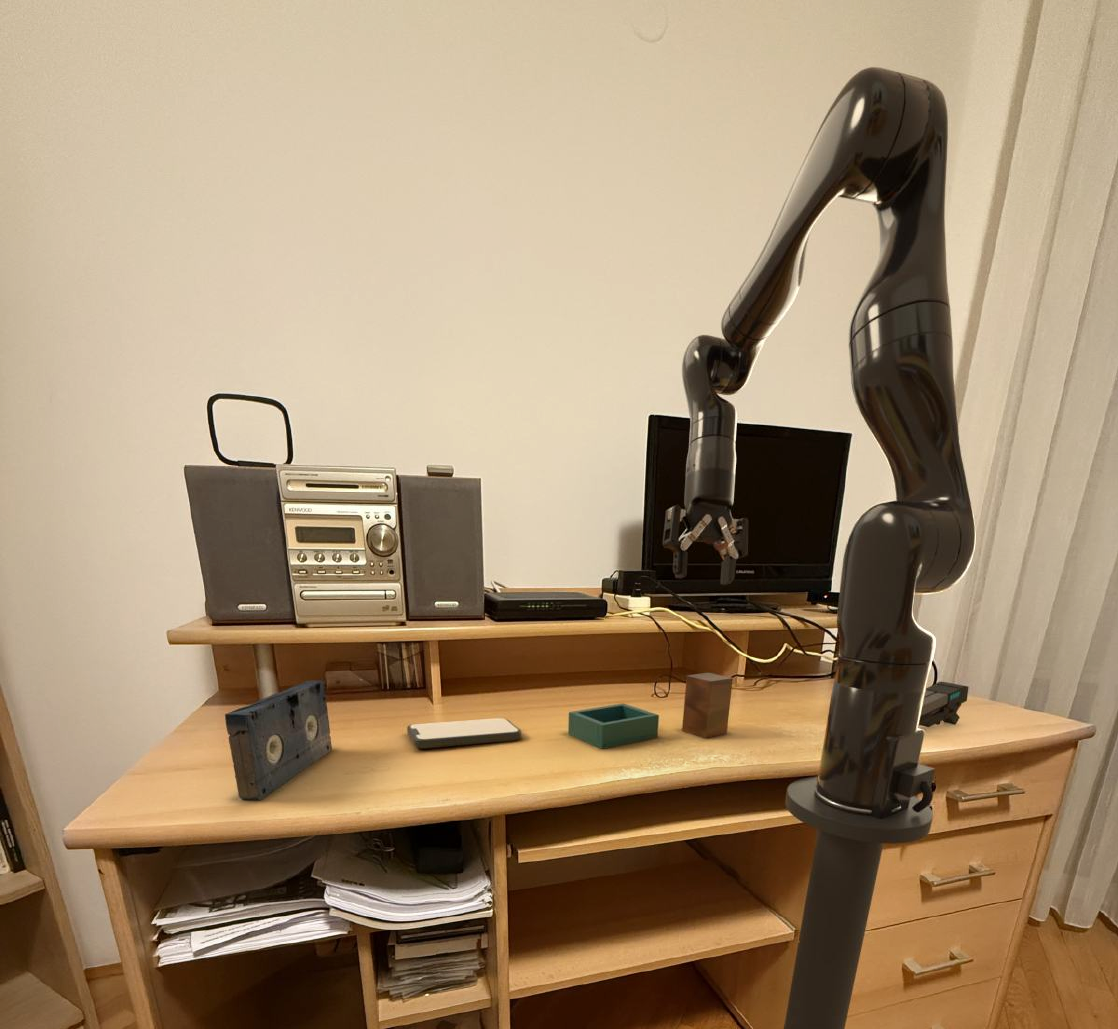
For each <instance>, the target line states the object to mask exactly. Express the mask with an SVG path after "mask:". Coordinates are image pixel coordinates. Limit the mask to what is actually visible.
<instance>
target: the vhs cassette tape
mask: <svg viewBox="0 0 1118 1029" xmlns="http://www.w3.org/2000/svg"><path fill="white" fill-rule="evenodd" d="M328 712H329V711H328V704H327V691H326V686H325V683H324V680H313V679H312V680H306V681H304V682H302V683H298V684H296V685H294V686H291V687H288V688H287V689H285V690H282V691H279V692H277V693H273V694H271V695H269V696H267V697H265V698H262V699H259V700H257V701H255V702H253V703H251V704H250V705H246V706H243V707H240V708H237V709H235V710H233V711H229V712H227V713H224V716H225V717H224V720H225V726H226V732H227V734H228V735H229V736H228V743H229V750H230V753H231V760H232V764H233V765H232V766H233V770H234V777H235V778H234V779H235V782H236V788H237V794H238V797H239V798H240V799H242V800H255V801H256V800H258V801H261V800H264V798H266V797H267V796H268V795H270V794H271V793H273V792H274V791H276V790H277V789H278V788H280V787H281V786H283V785H285V784H286V783H288V781H290V780H292V779H293V778H294V777H296V776H297V775H298V774H300V773H301V772H302V771H304V770H306V769H307V768H309V767H310V766H311V765H312V764H314V763H316V762H317V761H318V760H320V759H321V758H322V757H324V756H326V755H327V754H328V753H329V752H331V751H332V750H333V744H332V737H331V735H330V734H331V728H330V721H329V720H330V718H329V713H328Z"/></svg>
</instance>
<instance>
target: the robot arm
mask: <svg viewBox="0 0 1118 1029" xmlns="http://www.w3.org/2000/svg"><path fill="white" fill-rule="evenodd" d="M948 124H949V114H948V107H947V101H946V98H945V95H944V93H943V91H942V90H941V89H940V88H939V86H937V85H936V84H935V83H933V82H932V81H930V80H928V79H924V78H920V77H918V76H914V75H911V74H907V73H903V72H899V71H894V70H891V69H888V68H885V67H877V66H876V67H875V66H871V67H866V68H863V69H860V71H858V72H856V73H855V74H854V75H853V76H852V77H850V79H849V80H848V81H847V82H846V84H845V85H844V86H843V88H842V89H841V90H840V91H839V93H838V94H837V96H836V97H835V99H834V100H833V102H832V104H831V105H830V107H829V109H828V111H827V112H826V114H825V116H824V118H823V120H822V122H821V123H820V125H819V128H818V130H817V132H816V134H815V135H814V138H813V140H812V142H811V144H810V146H809V148H808V151H807V153H806V155H805V157H804V159H803V161H802V164H801V165H800V168H799V170H798V172H797V174H796V176H795V179H794V181H793V182H792V185H791V187H790V188H789V191H788V193H787V196H786V198H785V200H784V202H783V204H782V207H781V209H780V211H779V213H778V214H777V218H776V220H775V222H774V224H773V227H772V229H771V230H770V233H769V235H768V237H767V240H766V242H765V244H764V246H763V248H762V250H761V251H760V254H759V255H758V257H757V259H756V261H755V262H754V263H753V266H752V268H751V269H750V271H749V272H748V274H747V276H746V277H745V278H744V280H743V282H742V283H741V285H740V286H739V288H738V289H737V291H736V293H735V294H734V296H733V297H732V299H731V300H730V302H729V303H728V305H727V307H726V309H725V310H724V312H723V314H722V317H721V321H720V330H721V334H722V336H723V337H719V336H714V335H709V334H700V335H697V336H696V337H694V338H693V339H692V340H691V341H690V342H689V343H688V345H687V347H686V348H685V351H684V354H683V357H682V360H681V361H682V363H681V380H682V384H683V390H684V395H685V399H686V404H687V409H688V410H687V411H688V414H689V420H690V424H689V425H690V426H689V438H688V441H689V442H688V452H687V457H686V464H685V483H684V499H683V500H684V501H683V504H684V507H685V508H684V509H683V508H682V507H681V505H679V504H675V505H674V506H672V507H670V508H668V509H666V511H665V515H664V516H665V518H664V527H663V535H662V547H663V548H664V549H669V550H671V552H672V553H673V557H672V558H673V561H672V562H673V563H672V572H673V575H674V577H675V578H676V579H683V578H686V576H687V572H688V557H689V552H688V551H687V550H688V548H689V547H690V546H691V545H692V544H693V542H695V543H704V544H707V545H713V547H714V549H715V551H718V552H719V555H720V557H721V558H722V560H723V561H721V564H720V566H721V567H720V581H719V583H720V585H722V586H727V585H730V584H732V582H733V581H734V580H735V578H736V564H737V563H736V562H737V560H738V559H741V558H744V557H746V556H748V554H749V519H748V518H747V517H743V518H739V519H738V518H733V516H732V511H731V510H732V508H733V506H734V499H735V485H736V467H737V466H736V465H737V452H736V440H737V426H738V425H737V422H738V411H737V408H736V407H735V405H734V404H733V403H732V402H730V401H728V400H727V399H725V398H723V397H722V396H720V395H723V396H732V395H734V394H737V393H739V392H740V391H741V390H742V389H744V387H745V386H746V385H747V383H748V382H749V380H750V378H751V375H752V373H753V370H754V366H755V364H756V362H757V359H758V358H759V355H760V353H761V351H762V348H763V347H764V344H765V342H766V340H767V339H768V337H769V336H770V335H771V334H772V332H773V331H774V329H775V328H776V327H777V325H778V324H779V323H780V322H781V320H783V318H784V317H785V315H786V314H787V312H788V311H789V309H790V307H791V306H792V305H793V303H794V301H795V299H796V297H797V295H798V293H799V290H800V287H801V284H802V280H803V275H804V269H805V261H806V254H807V247H808V243H809V240H810V235H811V232H812V230H813V228H814V226H815V224H816V223H817V222H818V220H819V218H820V217H821V216H822V214H823V213H824V212H825V210H827V208H828V207H829V206H830V204H832V202H833V201H835V199H836V198H837V197H838V198H842V199H848V200H851V201H857V202H862V203H866V204H870V205H872V206H873V208H874V210H875V212H876V216H877V221H878V232H879V254H878V260H877V263H876V265H875V267H874V269H873V271H872V274H871V276H870V277H869V279H868V282H867V283H866V284H865V287H864V289H863V290H862V293H861V295H860V297H859V299H858V301H857V304H856V306H855V308H854V310H853V313H852V315H851V319H850V323H849V328H848V353H849V354H848V355H849V370H850V383H851V384H850V385H851V389H852V395H853V398H854V402H855V404H856V406H857V409H858V411H859V413H860V416H861V417H862V419H863V421H864V422H865V424H866V426H867V428H868V429H869V431H870V433H871V435H872V436H873V438H874V440H875V441H876V443H877V444H878V447H879V448H880V450H881V452H882V454H883V456H885V457H884V458H885V459H886V461H887V464H888V466H889V468H890V472H891V475H892V479H893V484H894V491H895V500H887V501H882V502H878V503H876V504H874V505H871V506H870V507H868V508H867V509H866V510H865V511H864V512H862V513H861V515H860V516H859V517H858V518H857V520H856V522H855V523H854V525H853V526H852V529H851V530H850V533H849V535H848V538H847V541H846V545H845V548H844V553H843V559H842V564H841V573H840V575H841V576H840V585H839V595H838V603H837V613H836V627H837V628H836V629H837V632H838V637H839V649H838V655H837V660H836V664H835V665H836V667H835V671H834V678H833V684H832V691H831V695H830V702H829V707H828V713H827V720H826V727H825V732H824V738H823V745H822V750H821V756H820V761H819V769H818V774H817V776H818V778H817V780H818V781H817V785H816V787H815V796H816V797H817V798H818V799H819V800H820V801H821V802H823V803H825V804H827V805H829V806H831V807H833V808H836V809H839V810H842V811H846V812H850V813H855V814H860V815H867V816H872V817H875V818H878V819H884V818H886V817H888V816H891V815H893V814H896V813H898V812H900V811H902V810H905V809H907V808H908V807H909V803H910V798H911V797H913V796H915V797H916V796H918V795H920V794H922V798H921V799H920V800H921V801H920V802H918V803H917V804H915V805H914V806H913V807H912V809H913V810H914V811H915V812H918V813H919V812H920V811H922V810H923V809H925V808H926V807H927V806H929V805H930V804H931V803H932V801H933V798H934V794H933V791H932V786H933V785H932V784H933V781H934V776H935V772H936V768H935V767H932V766H928V765H924V764H921V763H919V761H920V757H921V752H922V749H923V743H924V738H925V734H926V732H925V730H924V729H923V728H919V726H918V724H919V720H920V715H921V710H922V706H923V701H924V696H925V691H926V688H928V682H929V679H930V678H929V677H930V673H931V668H932V662H933V660H934V657H935V656H934V655H935V651H936V647H937V646H936V644H937V640H936V636H934V634H933V633H932V632H930V631H928V630H926V629H924V628H923V627H921V626H920V625H919V624H918V623H917V622H916V620H915V617H914V612H913V610H914V600H915V595H931V594H933V595H934V594H938V593H941V592H945V591H947V590H950V589H951V588H952V587H954V586H955V585H956V584H958V582H960V580H961V579H962V578H963V577H964V576H965V574H966V572H967V571H968V570H969V567H970V566H971V563H972V560H973V556H974V553H975V548H976V540H977V539H976V535H977V534H976V524H975V522H976V521H975V516H974V510H973V506H972V501H971V500H972V499H971V495H970V491H969V486H968V480H967V475H966V471H965V466H964V460H963V455H962V449H961V442H960V431H959V420H958V410H957V409H958V408H957V398H956V396H957V395H956V387H955V373H954V344H953V343H954V342H953V328H952V327H953V326H952V314H951V303H950V295H949V285H948V272H947V271H948V270H947V245H946V244H947V242H946V240H947V239H946V219H945V218H946V217H945V214H946V213H945V211H946V208H945V207H946V205H945V204H946V183H947V162H948V145H949V144H948V143H949V142H948V141H949V125H948ZM682 521H683V524H684V526H685V528H686V529H685V530H684V531H683V532H682V534H681V535H680V536H679V531H680V525H681V523H680V522H682ZM722 539H723V540H722Z"/></svg>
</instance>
